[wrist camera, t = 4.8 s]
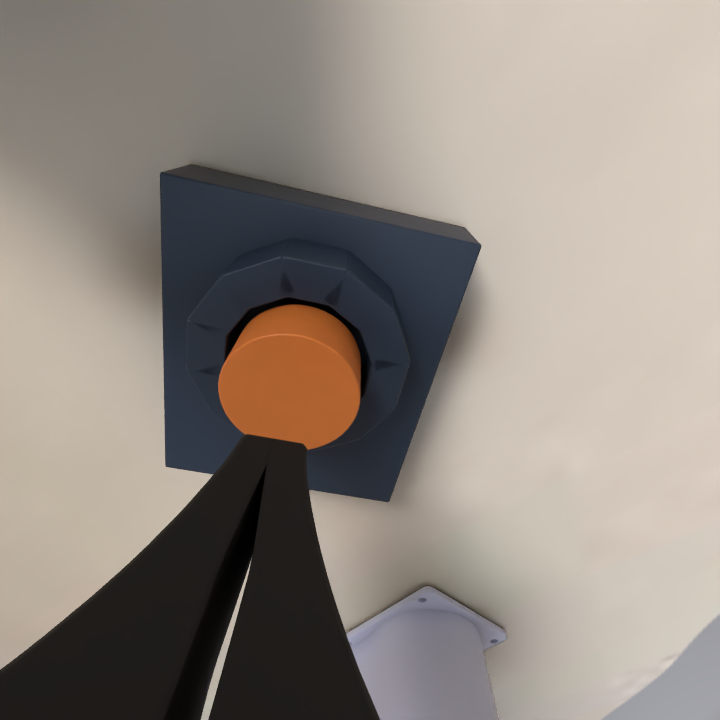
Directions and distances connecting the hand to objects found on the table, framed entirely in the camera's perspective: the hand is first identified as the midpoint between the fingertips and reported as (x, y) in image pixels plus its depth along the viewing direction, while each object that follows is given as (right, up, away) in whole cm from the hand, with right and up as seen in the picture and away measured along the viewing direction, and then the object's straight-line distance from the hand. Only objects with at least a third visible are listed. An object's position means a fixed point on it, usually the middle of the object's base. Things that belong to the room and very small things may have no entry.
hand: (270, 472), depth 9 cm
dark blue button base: (0, +3, +9) cm, 9 cm away
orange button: (0, +2, +4) cm, 5 cm away
